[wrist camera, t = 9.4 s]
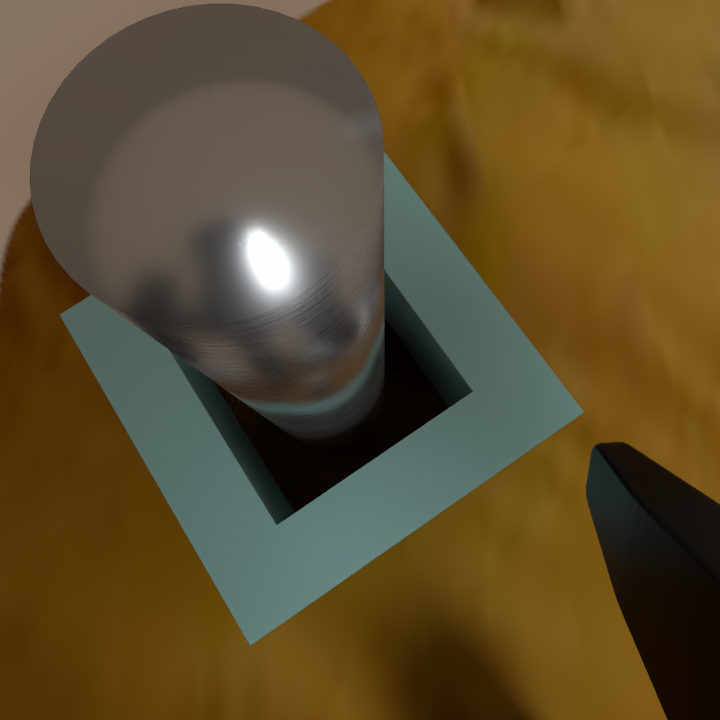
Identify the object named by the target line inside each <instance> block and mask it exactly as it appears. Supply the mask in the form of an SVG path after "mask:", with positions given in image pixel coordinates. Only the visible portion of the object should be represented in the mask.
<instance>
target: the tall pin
mask: <svg viewBox="0 0 720 720" xmlns="http://www.w3.org/2000/svg"><path fill="white" fill-rule="evenodd" d="M30 167H31V169H30V187H31V197H32V205H33V209H34V213H35V216H36V220H37V224H38V226H39V229H40V231H41V233H42V236H43V238H44V240H45V242H46V244H47V246H48V248H49V249H50V251H51V252H52V254H53V256H54V257H55V259H56V260H57V262H58V263H59V264H60V265H61V267H62V268H63V269H64V270H65V271H66V272H67V274H68V275H69V276H70V277H71V278H72V279H73V280H74V281H75V282H76V283H78V284H79V285H80V286H81V287H82V288H83V289H85V290H86V291H87V292H88V293H89V294H91V295H92V296H94V297H95V298H96V299H98V300H99V301H101V302H102V303H104V304H105V305H106V306H108V307H109V308H111V309H112V310H113V311H115V312H116V313H118V314H119V315H120V316H122V317H123V318H125V319H126V320H128V321H129V322H130V323H132V324H133V325H135V326H136V327H137V328H139V329H140V330H142V331H143V332H145V333H146V334H147V335H149V336H150V337H152V338H153V339H154V340H156V341H157V342H159V343H160V344H162V345H163V346H164V347H166V348H167V349H169V350H170V351H171V352H173V353H174V354H176V355H177V356H179V357H180V358H181V359H183V360H184V361H186V362H187V363H188V364H190V365H191V366H193V367H194V368H196V369H197V370H198V371H200V372H201V373H203V374H204V375H205V376H207V377H208V378H210V379H211V380H213V381H214V382H215V383H217V384H218V385H220V386H221V387H222V388H224V389H225V390H227V391H228V392H230V393H231V394H232V395H234V396H235V397H237V398H238V399H239V400H241V401H242V402H244V403H245V404H247V405H248V406H249V407H251V408H252V409H254V410H255V411H256V412H258V413H259V414H261V415H262V416H264V417H265V418H266V419H268V420H269V421H271V422H272V423H273V424H275V425H276V426H278V427H279V428H281V429H282V430H283V431H285V432H286V433H288V434H289V435H290V436H292V437H293V438H295V439H296V440H298V441H299V442H301V443H304V444H306V445H308V446H312V447H316V448H323V449H331V448H338V447H343V446H346V445H348V444H351V443H353V442H355V441H357V440H358V439H360V438H361V437H363V436H364V435H365V434H366V433H367V432H368V431H369V430H370V429H371V428H372V427H373V425H374V424H375V422H376V421H377V419H378V417H379V415H380V413H381V410H382V407H383V403H384V395H385V319H384V142H383V133H382V125H381V121H380V117H379V113H378V110H377V106H376V103H375V101H374V99H373V96H372V94H371V92H370V89H369V87H368V85H367V84H366V82H365V81H364V79H363V77H362V76H361V74H360V72H359V71H358V69H357V68H356V67H355V66H354V64H353V63H352V62H351V61H350V59H349V58H348V57H347V56H346V55H345V54H344V53H343V52H342V51H341V50H340V49H339V48H338V47H337V46H336V45H335V44H334V43H332V42H331V41H330V40H329V39H328V38H326V37H325V36H323V35H322V34H320V33H319V32H318V31H316V30H315V29H313V28H311V27H310V26H308V25H306V24H304V23H302V22H300V21H298V20H296V19H294V18H291V17H289V16H286V15H283V14H281V13H278V12H275V11H271V10H267V9H263V8H259V7H254V6H246V5H238V4H204V5H195V6H188V7H183V8H178V9H174V10H169V11H166V12H163V13H160V14H157V15H154V16H151V17H148V18H146V19H143V20H141V21H139V22H137V23H135V24H133V25H130V26H128V27H126V28H125V29H123V30H121V31H120V32H118V33H117V34H115V35H113V36H111V37H110V38H108V39H107V40H106V41H104V42H103V43H102V44H101V45H99V46H98V47H96V49H94V50H92V51H91V52H90V53H89V54H88V55H87V56H86V57H85V58H84V59H83V60H82V61H81V62H80V63H79V64H78V65H77V66H76V67H75V68H74V69H73V70H72V71H71V73H70V74H69V75H68V76H67V78H66V79H65V80H64V81H63V82H62V84H61V85H60V87H59V88H58V90H57V92H56V93H55V95H54V96H53V98H52V99H51V101H50V103H49V105H48V107H47V109H46V111H45V113H44V115H43V118H42V120H41V122H40V125H39V128H38V132H37V134H36V138H35V141H34V146H33V151H32V157H31V166H30Z"/></svg>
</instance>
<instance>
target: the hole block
mask: <svg viewBox="0 0 720 720" xmlns="http://www.w3.org/2000/svg"><path fill="white" fill-rule="evenodd" d="M60 316H61V318H62V320H63V321H64V323H65V325H66V327H67V328H68V330H69V332H70V334H71V335H72V337H73V339H74V341H75V342H76V344H77V346H78V348H79V349H80V351H81V353H82V354H83V356H84V358H85V360H86V361H87V363H88V365H89V367H90V368H91V370H92V372H93V374H94V375H95V377H96V379H97V380H98V382H99V384H100V386H101V387H102V389H103V391H104V393H105V394H106V396H107V398H108V400H109V401H110V403H111V405H112V407H113V408H114V410H115V412H116V413H117V415H118V417H119V419H120V420H121V422H122V424H123V426H124V427H125V429H126V431H127V433H128V434H129V436H130V438H131V440H132V441H133V443H134V445H135V446H136V448H137V450H138V452H139V453H140V455H141V457H142V459H143V460H144V462H145V464H146V466H147V467H148V469H149V471H150V472H151V474H152V476H153V478H154V479H155V481H156V483H157V485H158V486H159V488H160V490H161V492H162V493H163V495H164V497H165V499H166V500H167V502H168V504H169V505H170V507H171V509H172V511H173V512H174V514H175V516H176V518H177V519H178V521H179V523H180V525H181V526H182V528H183V530H184V532H185V533H186V535H187V537H188V538H189V540H190V542H191V544H192V545H193V547H194V549H195V551H196V552H197V554H198V556H199V558H200V559H201V561H202V563H203V564H204V566H205V568H206V570H207V571H208V573H209V575H210V577H211V578H212V580H213V582H214V584H215V585H216V587H217V589H218V591H219V592H220V594H221V596H222V597H223V599H224V601H225V603H226V604H227V606H228V608H229V610H230V611H231V613H232V615H233V617H234V618H235V620H236V622H237V623H238V625H239V627H240V629H241V630H242V632H243V634H244V636H245V637H246V639H247V641H248V643H249V644H250V645H252V644H253V643H255V642H256V641H258V640H259V639H260V638H262V637H263V636H265V635H266V634H268V633H269V632H270V631H272V630H273V629H275V628H276V627H278V626H279V625H280V624H282V623H283V622H285V621H286V620H288V619H289V618H290V617H292V616H293V615H295V614H296V613H298V612H299V611H300V610H302V609H303V608H305V607H306V606H308V605H309V604H310V603H312V602H313V601H315V600H316V599H318V598H319V597H321V596H322V595H323V594H325V593H326V592H328V591H329V590H331V589H332V588H333V587H335V586H336V585H338V584H339V583H341V582H342V581H343V580H345V579H346V578H348V577H349V576H351V575H352V574H353V573H355V572H356V571H358V570H359V569H361V568H362V567H363V566H365V565H366V564H368V563H369V562H371V561H372V560H373V559H375V558H376V557H378V556H379V555H381V554H382V553H383V552H385V551H386V550H388V549H389V548H391V547H392V546H393V545H395V544H396V543H398V542H399V541H401V540H402V539H403V538H405V537H406V536H408V535H409V534H411V533H412V532H413V531H415V530H416V529H418V528H419V527H421V526H422V525H423V524H425V523H426V522H428V521H429V520H431V519H432V518H433V517H435V516H436V515H438V514H439V513H441V512H442V511H443V510H445V509H446V508H448V507H449V506H451V505H452V504H453V503H455V502H456V501H458V500H459V499H461V498H462V497H463V496H465V495H466V494H468V493H469V492H471V491H472V490H473V489H475V488H476V487H478V486H479V485H481V484H482V483H483V482H485V481H486V480H488V479H489V478H491V477H492V476H493V475H495V474H496V473H498V472H499V471H501V470H502V469H503V468H505V467H506V466H508V465H509V464H511V463H512V462H513V461H515V460H516V459H518V458H519V457H521V456H522V455H523V454H525V453H526V452H528V451H529V450H531V449H532V448H533V447H535V446H536V445H538V444H539V443H541V442H542V441H543V440H545V439H546V438H548V437H549V436H551V435H552V434H553V433H555V432H556V431H558V430H559V429H561V428H562V427H563V426H565V425H566V424H568V423H569V422H571V421H572V420H573V419H575V418H576V417H578V416H579V415H581V414H582V413H583V412H584V411H583V410H582V409H581V407H580V406H579V405H578V403H577V402H576V401H575V399H574V398H573V397H572V396H571V394H570V393H569V392H568V390H567V389H566V388H565V386H564V385H563V384H562V383H561V381H560V380H559V379H558V377H557V376H556V375H555V373H554V372H553V371H552V370H551V368H550V367H549V366H548V364H547V363H546V362H545V360H544V359H543V358H542V357H541V355H540V354H539V353H538V351H537V350H536V349H535V347H534V346H533V345H532V343H531V342H530V341H529V340H528V338H527V337H526V336H525V334H524V333H523V332H522V330H521V329H520V328H519V327H518V325H517V324H516V323H515V321H514V320H513V319H512V317H511V316H510V315H509V314H508V312H507V311H506V310H505V308H504V307H503V306H502V304H501V303H500V302H499V301H498V299H497V298H496V297H495V295H494V294H493V293H492V291H491V290H490V289H489V287H488V286H487V285H486V284H485V282H484V281H483V280H482V278H481V277H480V276H479V274H478V273H477V272H476V271H475V269H474V268H473V267H472V265H471V264H470V263H469V261H468V260H467V259H466V258H465V256H464V255H463V254H462V252H461V251H460V250H459V248H458V247H457V246H456V245H455V243H454V242H453V241H452V239H451V238H450V237H449V235H448V234H447V233H446V231H445V230H444V229H443V228H442V226H441V225H440V224H439V222H438V221H437V220H436V218H435V217H434V216H433V215H432V213H431V212H430V211H429V209H428V208H427V207H426V205H425V204H424V203H423V202H422V200H421V199H420V198H419V196H418V195H417V194H416V192H415V191H414V190H413V188H412V187H411V186H410V185H409V183H408V182H407V181H406V179H405V178H404V177H403V175H402V174H401V173H400V172H399V170H398V169H397V168H396V166H395V165H394V164H393V162H392V161H391V160H390V159H389V157H388V156H387V155H386V153H385V152H384V318H385V319H386V320H387V322H388V323H389V325H390V326H391V327H392V329H393V330H394V332H395V333H396V334H397V336H398V337H399V339H400V340H401V341H402V343H403V344H404V346H405V347H406V348H407V350H408V351H409V353H410V354H411V355H412V357H413V358H414V360H415V361H416V362H417V364H418V365H419V367H420V368H421V369H422V371H423V372H424V374H425V375H426V376H427V378H428V379H429V381H430V382H431V383H432V385H433V386H434V388H435V389H436V390H437V392H438V393H439V395H440V396H441V397H442V399H443V400H444V402H445V403H446V404H447V406H448V407H449V408H448V409H447V410H445V411H444V412H442V413H441V414H439V415H438V416H436V417H435V418H434V419H432V420H431V421H429V422H428V423H426V424H425V425H423V426H422V427H420V428H419V429H417V430H416V431H414V432H413V433H411V434H410V435H409V436H407V437H406V438H404V439H403V440H401V441H400V442H398V443H397V444H395V445H394V446H392V447H391V448H389V449H388V450H387V451H385V452H384V453H382V454H381V455H379V456H378V457H376V458H375V459H373V460H372V461H370V462H369V463H367V464H366V465H365V466H363V467H362V468H360V469H359V470H357V471H356V472H354V473H353V474H351V475H350V476H348V477H347V478H345V479H344V480H342V481H341V482H340V483H338V484H337V485H335V486H334V487H332V488H331V489H329V490H328V491H326V492H325V493H323V494H322V495H320V496H319V497H318V498H316V499H315V500H313V501H312V502H310V503H309V504H307V505H306V506H304V507H303V508H301V509H300V510H298V511H297V512H296V513H295V511H294V510H293V508H292V506H291V505H290V503H289V502H288V500H287V498H286V497H285V495H284V494H283V492H282V490H281V489H280V487H279V486H278V484H277V482H276V481H275V479H274V478H273V476H272V474H271V473H270V471H269V469H268V468H267V466H266V465H265V463H264V461H263V460H262V458H261V457H260V455H259V453H258V452H257V450H256V449H255V447H254V445H253V444H252V442H251V441H250V439H249V437H248V436H247V434H246V433H245V431H244V429H243V428H242V426H241V425H240V423H239V421H238V420H237V418H236V417H235V415H234V413H233V412H232V410H231V409H230V407H229V405H228V404H227V402H226V401H225V399H224V397H223V396H222V394H221V393H220V391H219V389H218V388H217V386H216V385H215V383H214V381H213V380H211V379H210V378H208V377H207V376H205V375H204V374H203V373H201V372H200V371H198V370H197V369H196V368H194V367H193V366H191V365H190V364H188V363H187V362H186V361H184V360H183V359H181V358H180V357H179V356H177V355H176V354H174V353H173V352H171V351H170V350H169V349H167V348H166V347H164V346H163V345H162V344H160V343H159V342H157V341H156V340H154V339H153V338H152V337H150V336H149V335H147V334H146V333H145V332H143V331H142V330H140V329H139V328H137V327H136V326H135V325H133V324H132V323H130V322H129V321H128V320H126V319H125V318H123V317H122V316H120V315H119V314H118V313H116V312H115V311H113V310H112V309H111V308H109V307H108V306H106V305H105V304H104V303H102V302H101V301H99V300H98V299H96V298H95V297H94V296H92V295H90V296H89V297H87V298H86V299H84V300H82V301H81V302H79V303H78V304H76V305H74V306H73V307H71V308H69V309H68V310H66V311H65V312H63V313H61V314H60Z"/></svg>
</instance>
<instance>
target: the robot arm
mask: <svg viewBox="0 0 720 720" xmlns="http://www.w3.org/2000/svg"><path fill="white" fill-rule="evenodd" d="M586 496H587V502H588V506H589V509H590V512H591V516H592V519H593V522H594V526H595V529H596V532H597V536H598V539H599V543H600V546H601V549H602V553H603V556H604V559H605V563H606V566H607V569H608V573H609V576H610V579H611V583H612V586H613V589H614V592H615V595H616V598H617V601H618V604H619V606H620V609H621V611H622V614H623V616H624V619H625V621H626V623H627V626H628V628H629V630H630V633H631V635H632V637H633V640H634V642H635V644H636V647H637V649H638V651H639V654H640V656H641V658H642V661H643V663H644V665H645V668H646V670H647V673H648V675H649V677H650V680H651V682H652V684H653V687H654V689H655V691H656V694H657V696H658V698H659V701H660V703H661V705H662V708H663V710H664V712H665V715H666V717H667V719H668V720H720V504H719V503H717V502H716V501H714V500H712V499H711V498H709V497H708V496H706V495H705V494H703V493H702V492H700V491H699V490H697V489H696V488H694V487H693V486H691V485H690V484H688V483H687V482H685V481H683V480H682V479H680V478H679V477H677V476H676V475H674V474H673V473H671V472H670V471H668V470H667V469H665V468H664V467H662V466H661V465H659V464H657V463H656V462H654V461H653V460H651V459H650V458H648V457H647V456H645V455H644V454H642V453H641V452H639V451H638V450H636V449H635V448H633V447H632V446H630V445H628V444H626V443H624V442H609V443H598V444H596V445H595V446H594V447H593V449H592V452H591V458H590V465H589V471H588V478H587V484H586Z"/></svg>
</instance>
